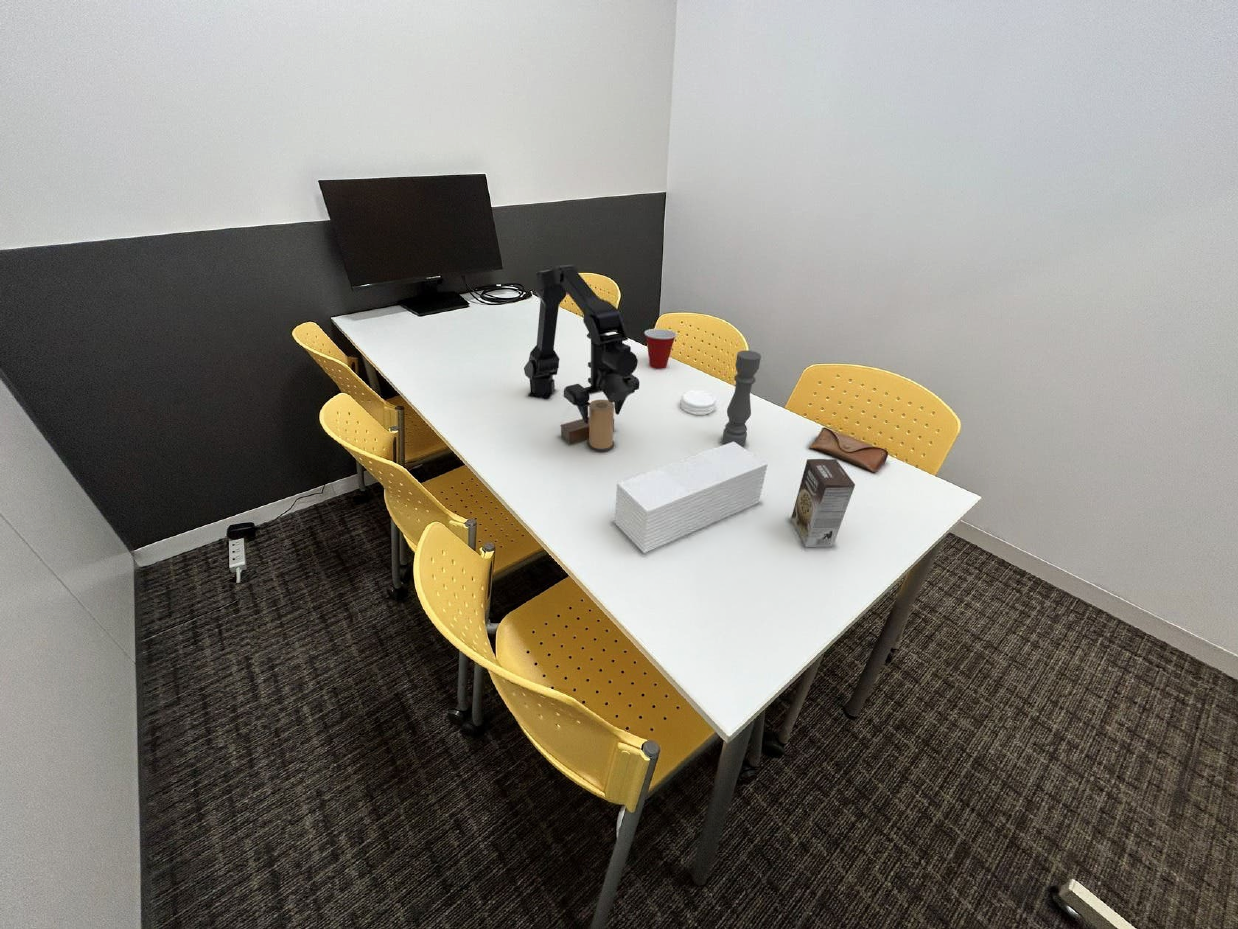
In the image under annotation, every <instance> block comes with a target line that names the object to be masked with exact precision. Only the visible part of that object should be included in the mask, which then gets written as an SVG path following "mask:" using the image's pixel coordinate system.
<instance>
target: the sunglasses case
mask: <svg viewBox="0 0 1238 929" xmlns="http://www.w3.org/2000/svg"><path fill="white" fill-rule="evenodd" d="M809 449H811V450H815V451H819V452H821V453H823V454H826V455H828V456H831V457H833V458H835V459H838V460H840V461H842V462H845V463H848V464H850V465H853V466H855V467H858V468H860V469H862V470H866V471H870V472H872V473H877V472H878V471H879V470H880V469H882V467H883V466H884V465H885V463H886V462H887V459H888V457H889V451H888V450H887V449H885V448H882V447H878V446H874V445H872V444H870V443H868V442H865V441H862V440H861V439H857V438H854V437H852V436H850V435H846V434H842V433H840V432H837V431H834V430H832V429H830V428H828V427H822V428H821V430H820V431H819V433H818V435H817V436H816V438H815V440H814V441H813V443H812V444H811V445H809Z"/></svg>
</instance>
